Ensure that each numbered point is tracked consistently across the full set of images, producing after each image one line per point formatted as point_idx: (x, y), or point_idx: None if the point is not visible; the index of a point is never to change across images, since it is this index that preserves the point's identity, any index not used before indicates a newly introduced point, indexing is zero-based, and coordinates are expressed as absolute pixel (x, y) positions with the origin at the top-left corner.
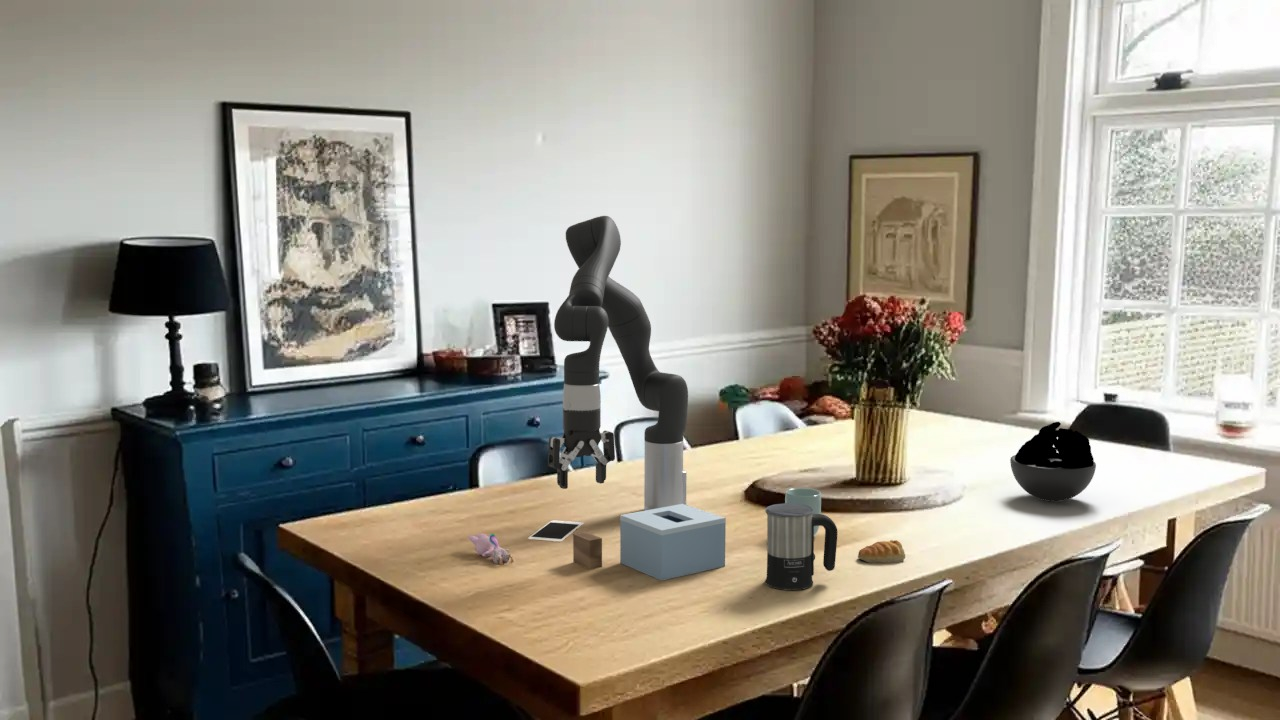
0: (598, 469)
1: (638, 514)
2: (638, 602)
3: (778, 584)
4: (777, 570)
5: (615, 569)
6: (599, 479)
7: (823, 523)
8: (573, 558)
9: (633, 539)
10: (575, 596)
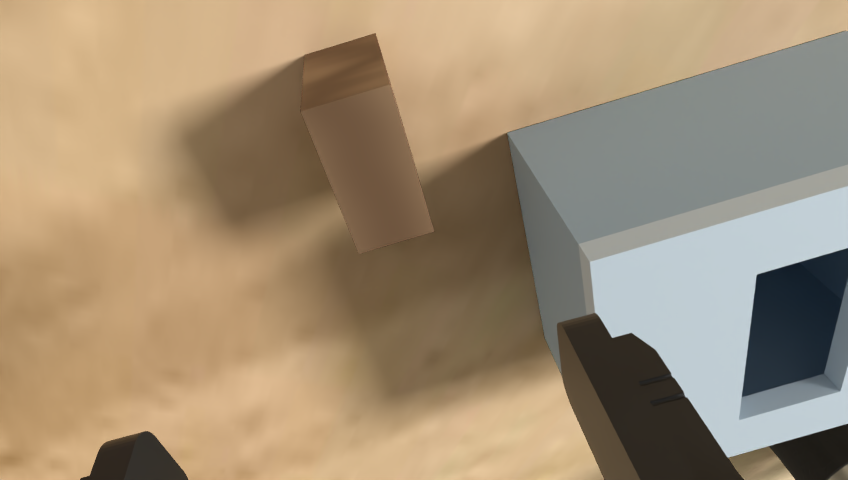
0: (621, 477)
1: (687, 273)
2: (403, 458)
3: None
4: (790, 471)
5: (453, 203)
6: (575, 394)
7: None
8: (304, 62)
9: (562, 287)
10: (238, 405)
